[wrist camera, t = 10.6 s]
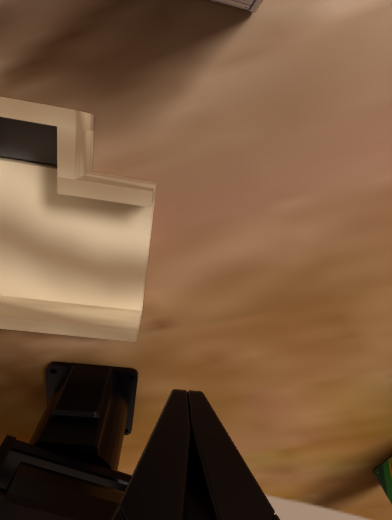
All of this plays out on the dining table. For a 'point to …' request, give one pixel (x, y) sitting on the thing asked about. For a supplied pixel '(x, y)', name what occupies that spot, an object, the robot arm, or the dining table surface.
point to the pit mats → (28, 140)
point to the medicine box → (243, 4)
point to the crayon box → (385, 477)
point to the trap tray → (71, 236)
